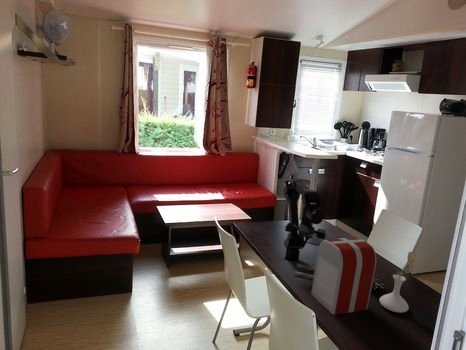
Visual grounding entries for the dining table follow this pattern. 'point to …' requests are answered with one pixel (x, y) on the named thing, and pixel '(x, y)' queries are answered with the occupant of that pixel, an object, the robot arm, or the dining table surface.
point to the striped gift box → (344, 274)
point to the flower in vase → (394, 298)
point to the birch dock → (304, 273)
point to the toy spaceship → (318, 239)
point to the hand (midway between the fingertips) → (303, 247)
